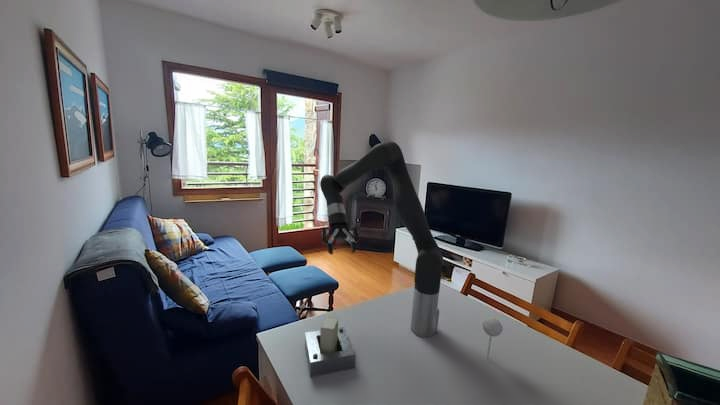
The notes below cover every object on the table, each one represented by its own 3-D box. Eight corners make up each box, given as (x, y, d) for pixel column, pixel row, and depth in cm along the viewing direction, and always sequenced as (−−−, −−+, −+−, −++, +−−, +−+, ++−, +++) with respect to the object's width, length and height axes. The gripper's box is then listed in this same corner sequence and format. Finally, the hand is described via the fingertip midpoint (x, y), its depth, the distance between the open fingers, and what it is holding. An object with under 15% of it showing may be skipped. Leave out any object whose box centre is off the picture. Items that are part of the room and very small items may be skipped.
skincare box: (332, 364, 88) (333, 330, 86) (319, 361, 89) (320, 327, 87) (337, 350, 94) (339, 318, 92) (325, 348, 95) (326, 316, 93)
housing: (344, 338, 100) (344, 325, 99) (354, 368, 87) (355, 353, 86) (304, 345, 96) (305, 331, 95) (310, 377, 83) (310, 361, 82)
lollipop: (496, 355, 96) (502, 316, 93) (498, 367, 90) (505, 326, 87) (476, 350, 98) (482, 311, 95) (478, 361, 92) (484, 321, 89)
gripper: (321, 211, 108) (325, 250, 100) (355, 211, 112) (363, 247, 104) (318, 221, 114) (322, 258, 106) (351, 220, 118) (358, 255, 110)
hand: (342, 253), depth 105 cm, fingers open, 8 cm apart
